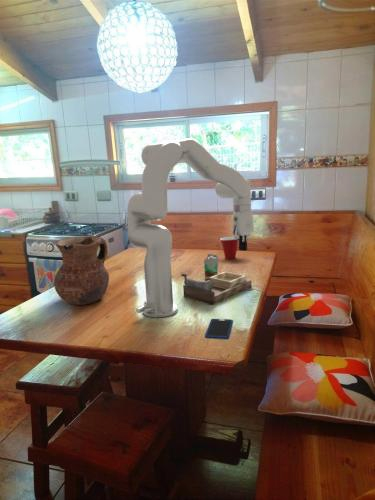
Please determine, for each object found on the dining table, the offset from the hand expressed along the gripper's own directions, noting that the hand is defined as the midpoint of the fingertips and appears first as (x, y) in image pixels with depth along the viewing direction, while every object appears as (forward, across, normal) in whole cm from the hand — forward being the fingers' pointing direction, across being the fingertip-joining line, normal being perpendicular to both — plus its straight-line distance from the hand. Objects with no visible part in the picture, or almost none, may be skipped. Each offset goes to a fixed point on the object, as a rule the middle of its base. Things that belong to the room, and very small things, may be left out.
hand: (243, 249), depth 158 cm
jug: (+13, -57, +39) cm, 71 cm away
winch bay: (+14, -18, 0) cm, 23 cm away
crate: (+13, -12, 0) cm, 17 cm away
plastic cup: (+15, +32, +31) cm, 47 cm away
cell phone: (+14, -46, -22) cm, 53 cm away
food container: (+14, -3, +15) cm, 21 cm away
